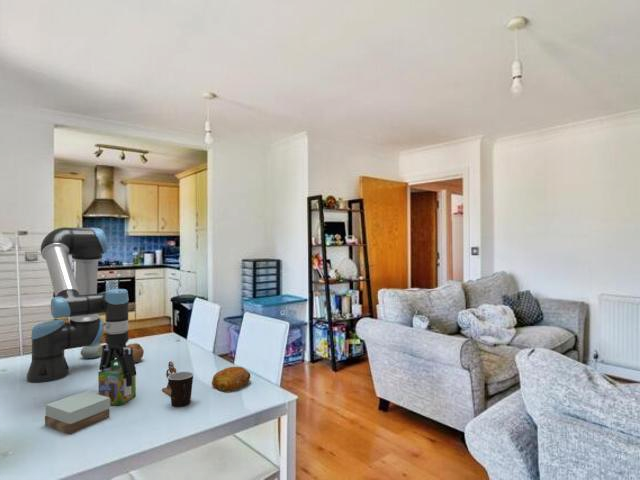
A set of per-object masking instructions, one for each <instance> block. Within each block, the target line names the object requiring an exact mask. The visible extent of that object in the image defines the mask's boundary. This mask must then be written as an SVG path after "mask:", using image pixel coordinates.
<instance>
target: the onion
mask: <svg viewBox="0 0 640 480" xmlns="http://www.w3.org/2000/svg"><path fill="white" fill-rule="evenodd" d="M126 347H127V348H132V349H133V359H134V364H135V363H139V361H141V360H142V359H143V357H144V354H145V353H144V348H143V347H142V346H141V344H139V343H137V342H136V343H135V342H134V343H129V344H126ZM123 357H124V356H123Z"/></svg>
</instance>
